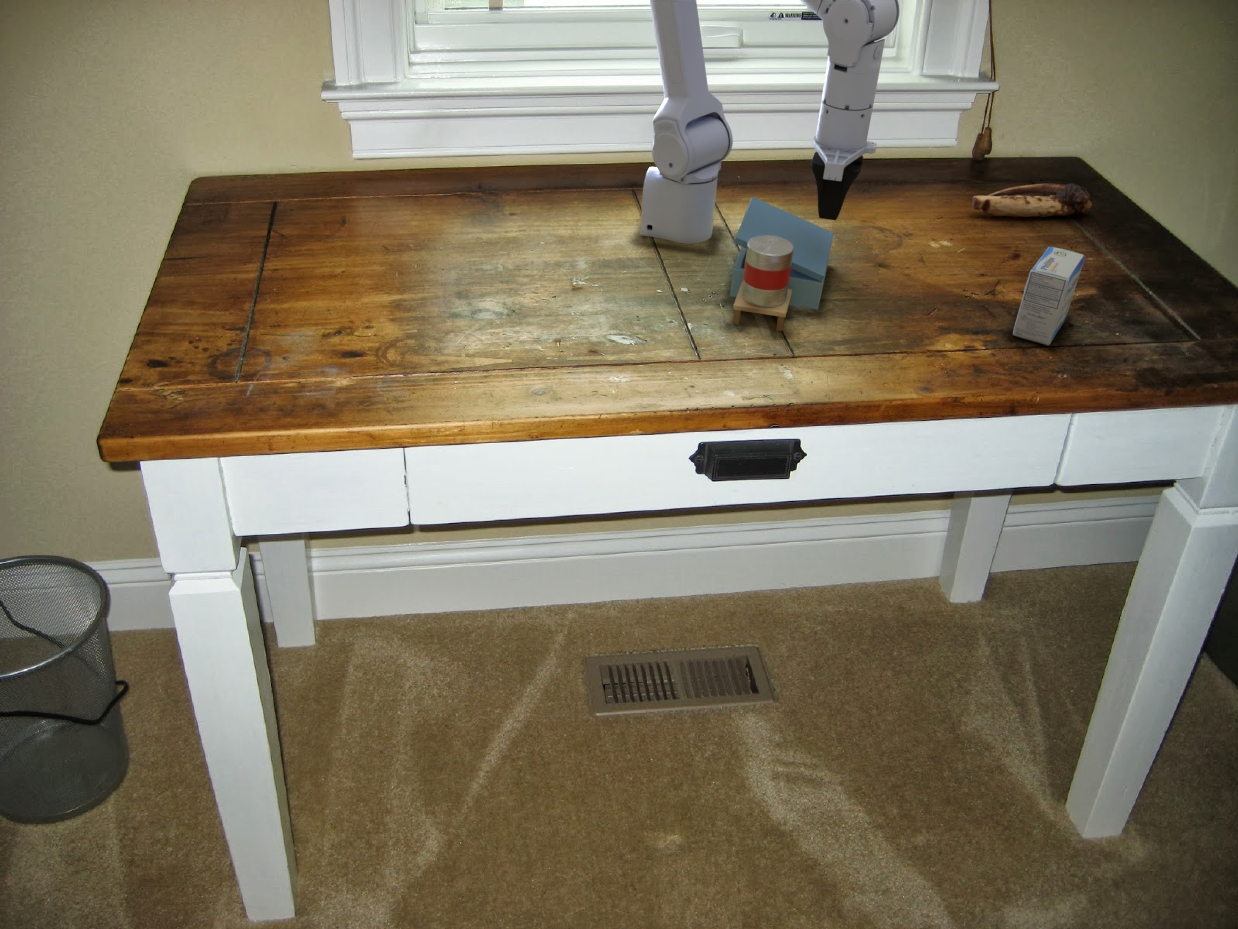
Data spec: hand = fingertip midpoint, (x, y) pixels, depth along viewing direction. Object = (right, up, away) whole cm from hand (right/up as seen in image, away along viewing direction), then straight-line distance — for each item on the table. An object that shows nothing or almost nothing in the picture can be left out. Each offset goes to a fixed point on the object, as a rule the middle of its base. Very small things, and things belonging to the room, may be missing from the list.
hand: (828, 217), depth 127 cm
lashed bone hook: (+34, +7, +28) cm, 45 cm away
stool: (-8, -13, -2) cm, 15 cm away
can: (-8, -10, -3) cm, 13 cm away
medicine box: (+25, -13, 0) cm, 28 cm away
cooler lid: (-5, -2, +2) cm, 6 cm away
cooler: (-5, -7, +6) cm, 11 cm away
